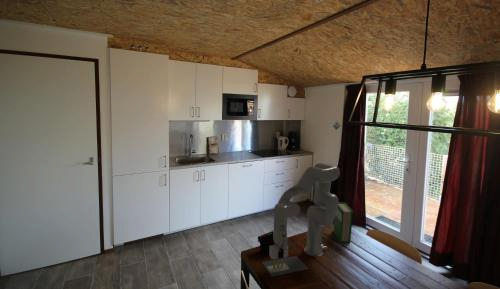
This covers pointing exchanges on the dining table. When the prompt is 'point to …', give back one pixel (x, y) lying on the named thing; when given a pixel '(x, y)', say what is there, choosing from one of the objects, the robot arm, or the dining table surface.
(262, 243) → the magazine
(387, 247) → the dining table surface
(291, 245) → the plug
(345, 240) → the hardback book
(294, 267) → the board
